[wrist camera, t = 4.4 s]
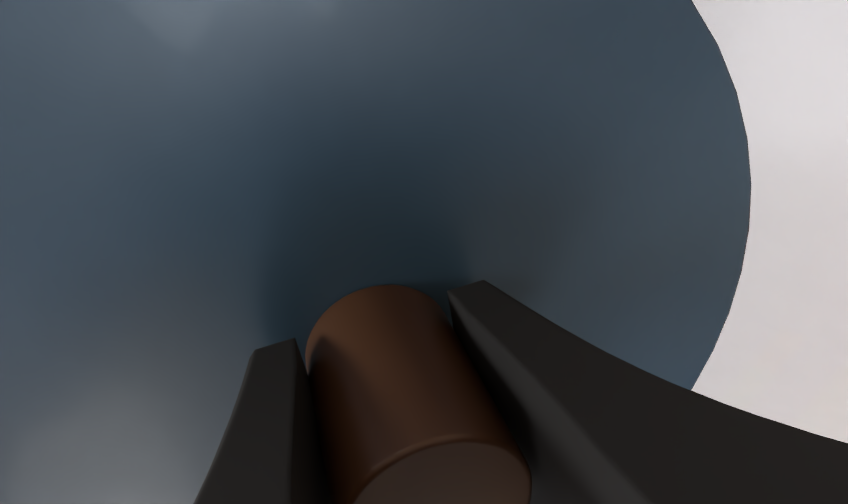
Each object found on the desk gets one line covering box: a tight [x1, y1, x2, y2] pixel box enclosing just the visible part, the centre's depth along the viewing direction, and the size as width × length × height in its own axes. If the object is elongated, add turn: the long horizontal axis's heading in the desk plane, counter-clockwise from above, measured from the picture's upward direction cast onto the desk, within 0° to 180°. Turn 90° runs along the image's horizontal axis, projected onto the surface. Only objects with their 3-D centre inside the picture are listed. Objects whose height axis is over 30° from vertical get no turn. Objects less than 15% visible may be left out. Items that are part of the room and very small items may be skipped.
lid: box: [0, 0, 751, 504], centre depth 9 cm, size 14×14×4 cm
